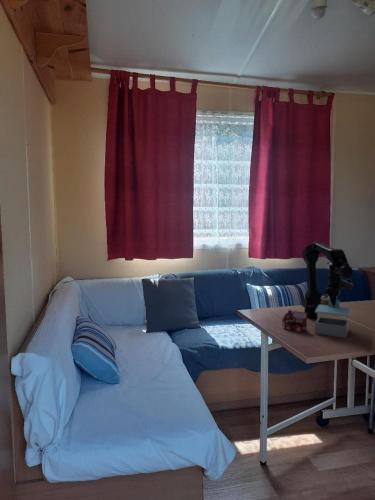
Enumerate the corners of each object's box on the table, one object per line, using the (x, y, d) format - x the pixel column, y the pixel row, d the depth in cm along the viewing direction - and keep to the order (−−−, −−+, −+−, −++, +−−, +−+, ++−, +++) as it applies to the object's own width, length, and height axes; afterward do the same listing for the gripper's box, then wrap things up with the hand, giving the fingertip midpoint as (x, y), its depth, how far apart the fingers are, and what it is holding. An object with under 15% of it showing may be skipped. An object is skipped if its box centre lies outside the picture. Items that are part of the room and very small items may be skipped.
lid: (314, 313, 171) (315, 304, 171) (318, 307, 182) (319, 297, 182) (347, 317, 165) (347, 307, 164) (349, 310, 175) (349, 300, 175)
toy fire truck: (284, 326, 185) (285, 307, 184) (309, 331, 178) (309, 310, 177) (280, 330, 179) (280, 310, 178) (305, 334, 173) (305, 314, 172)
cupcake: (336, 309, 219) (336, 293, 218) (333, 313, 211) (334, 296, 210) (320, 307, 224) (320, 292, 223) (316, 311, 216) (317, 295, 215)
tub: (314, 334, 172) (315, 322, 172) (318, 328, 183) (318, 316, 182) (346, 339, 166) (346, 326, 165) (348, 332, 176) (348, 320, 176)
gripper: (351, 278, 164) (350, 311, 166) (354, 272, 181) (352, 303, 182) (325, 276, 170) (324, 308, 171) (330, 271, 186) (329, 300, 187)
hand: (333, 305), depth 178 cm, fingers closed on lid
